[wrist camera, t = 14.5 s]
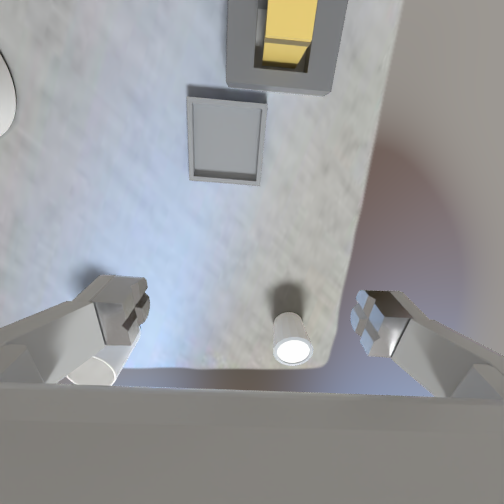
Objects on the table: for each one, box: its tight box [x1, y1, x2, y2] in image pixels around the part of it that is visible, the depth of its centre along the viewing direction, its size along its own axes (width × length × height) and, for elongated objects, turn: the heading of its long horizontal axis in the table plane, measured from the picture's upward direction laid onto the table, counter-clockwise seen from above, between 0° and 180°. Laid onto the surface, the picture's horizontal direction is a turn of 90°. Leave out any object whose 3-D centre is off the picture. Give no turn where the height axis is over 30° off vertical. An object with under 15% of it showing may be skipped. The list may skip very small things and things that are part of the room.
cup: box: [66, 325, 141, 386], centre depth 41 cm, size 8×12×10 cm
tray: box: [187, 97, 268, 186], centre depth 32 cm, size 10×10×1 cm
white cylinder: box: [273, 312, 314, 366], centre depth 43 cm, size 7×7×7 cm
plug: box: [262, 0, 318, 69], centre depth 23 cm, size 4×4×9 cm
